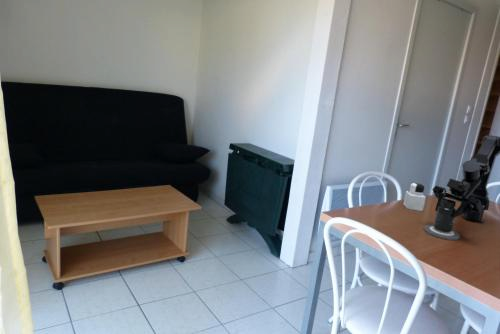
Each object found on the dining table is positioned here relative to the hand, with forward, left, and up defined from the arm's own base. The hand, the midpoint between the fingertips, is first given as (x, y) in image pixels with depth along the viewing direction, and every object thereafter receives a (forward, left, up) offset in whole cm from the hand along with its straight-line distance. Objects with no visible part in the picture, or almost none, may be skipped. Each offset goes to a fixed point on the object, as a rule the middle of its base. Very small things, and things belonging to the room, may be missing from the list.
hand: (443, 213), depth 144 cm
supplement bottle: (-1, -1, -7) cm, 7 cm away
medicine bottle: (-3, -32, -9) cm, 33 cm away
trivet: (-1, -1, -8) cm, 8 cm away
